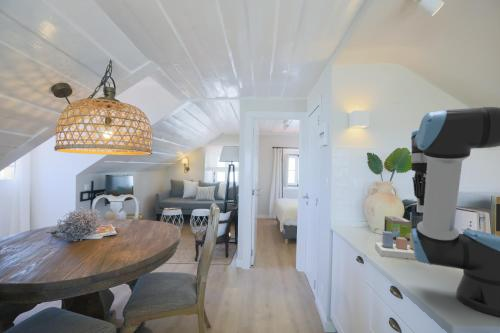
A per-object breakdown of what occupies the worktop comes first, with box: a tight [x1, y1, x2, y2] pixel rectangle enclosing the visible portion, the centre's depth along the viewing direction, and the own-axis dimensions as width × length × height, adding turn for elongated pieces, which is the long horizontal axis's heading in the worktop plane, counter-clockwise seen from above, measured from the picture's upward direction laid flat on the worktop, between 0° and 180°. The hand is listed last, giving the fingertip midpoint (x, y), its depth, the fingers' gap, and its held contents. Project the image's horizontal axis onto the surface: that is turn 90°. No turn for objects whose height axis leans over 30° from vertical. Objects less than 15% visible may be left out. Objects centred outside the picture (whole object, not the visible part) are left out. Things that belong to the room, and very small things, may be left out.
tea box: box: [383, 215, 412, 245], centre depth 147 cm, size 15×10×15 cm, turn 168°
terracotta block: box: [396, 237, 407, 250], centre depth 128 cm, size 4×4×7 cm
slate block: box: [381, 230, 393, 247], centre depth 129 cm, size 4×4×7 cm
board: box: [374, 241, 416, 260], centre depth 128 cm, size 14×22×3 cm, turn 75°
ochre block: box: [410, 233, 413, 249], centre depth 126 cm, size 4×4×7 cm
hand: (420, 212), depth 116 cm, fingers closed
